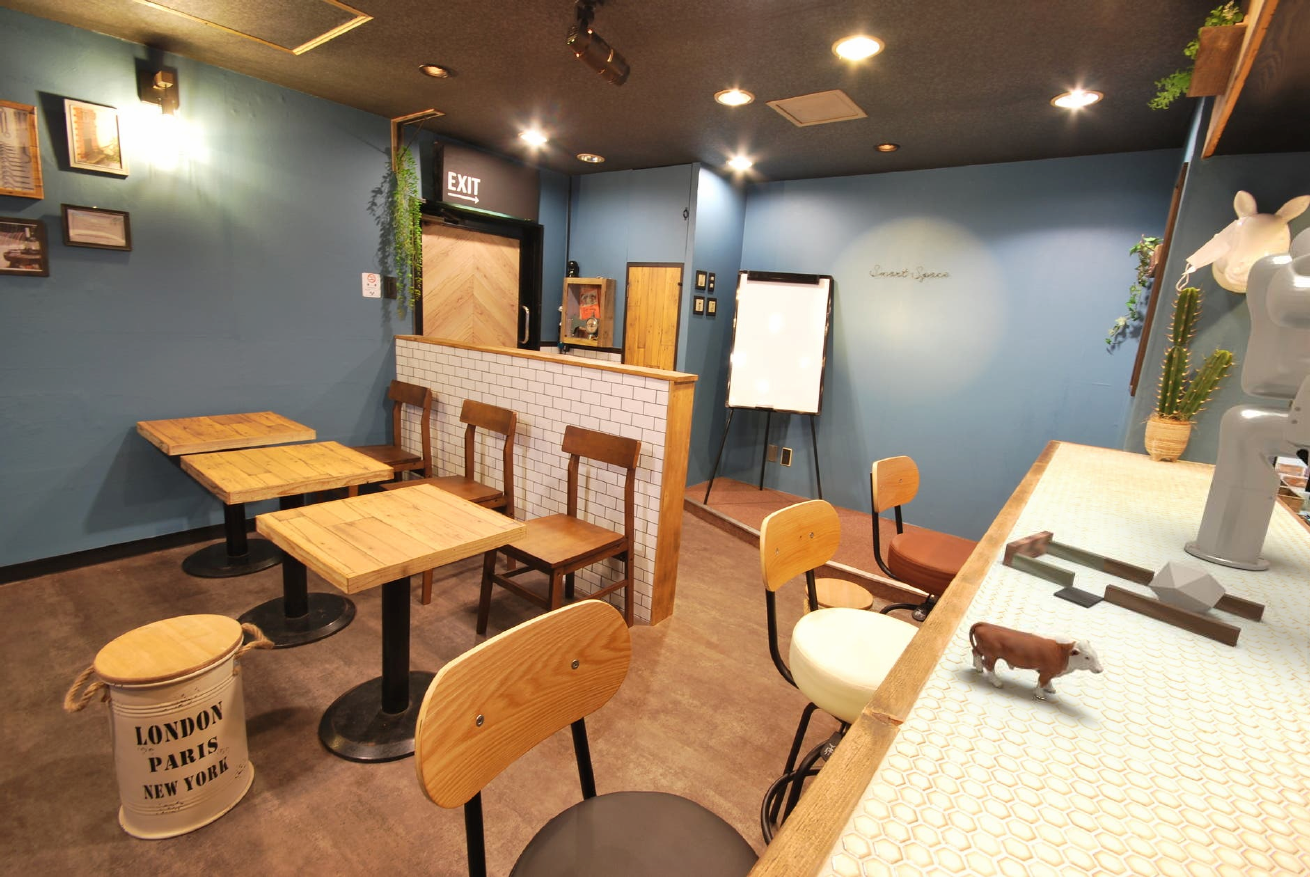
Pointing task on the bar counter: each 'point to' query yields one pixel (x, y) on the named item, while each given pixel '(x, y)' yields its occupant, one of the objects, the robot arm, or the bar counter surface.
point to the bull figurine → (1030, 654)
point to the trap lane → (1041, 543)
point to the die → (1187, 587)
